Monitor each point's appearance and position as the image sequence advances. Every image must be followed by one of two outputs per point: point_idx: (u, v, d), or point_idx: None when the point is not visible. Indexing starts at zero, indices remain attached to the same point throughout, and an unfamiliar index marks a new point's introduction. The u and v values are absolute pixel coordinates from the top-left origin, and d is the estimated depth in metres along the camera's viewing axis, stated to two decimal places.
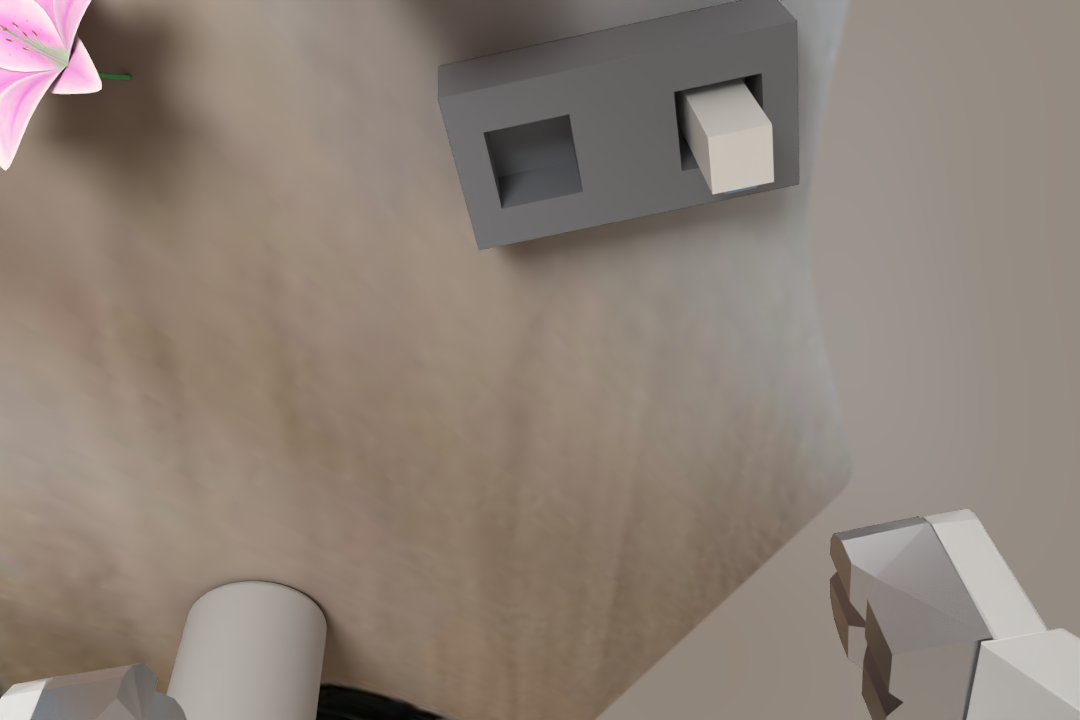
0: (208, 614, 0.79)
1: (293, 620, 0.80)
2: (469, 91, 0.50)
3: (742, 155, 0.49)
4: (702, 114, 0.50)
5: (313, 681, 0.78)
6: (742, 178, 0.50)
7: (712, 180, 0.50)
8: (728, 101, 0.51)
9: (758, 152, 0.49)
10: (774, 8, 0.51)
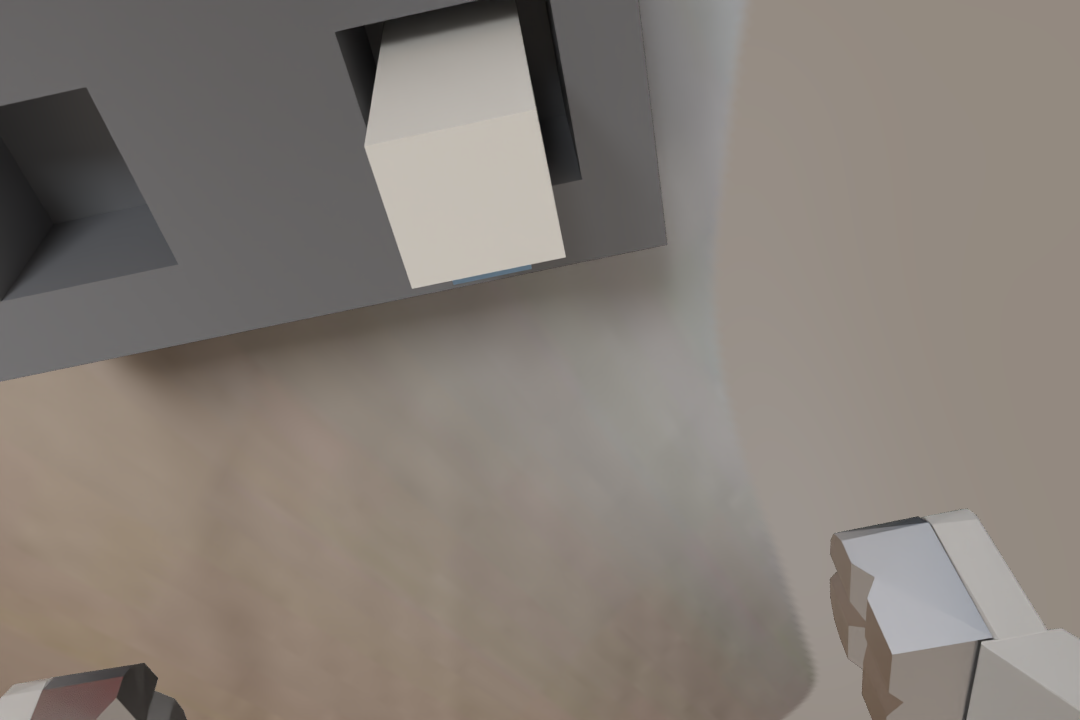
0: None
1: None
2: None
3: (469, 191, 0.18)
4: (388, 86, 0.20)
5: None
6: (482, 249, 0.19)
7: (404, 255, 0.19)
8: (464, 53, 0.21)
9: (513, 185, 0.18)
10: None
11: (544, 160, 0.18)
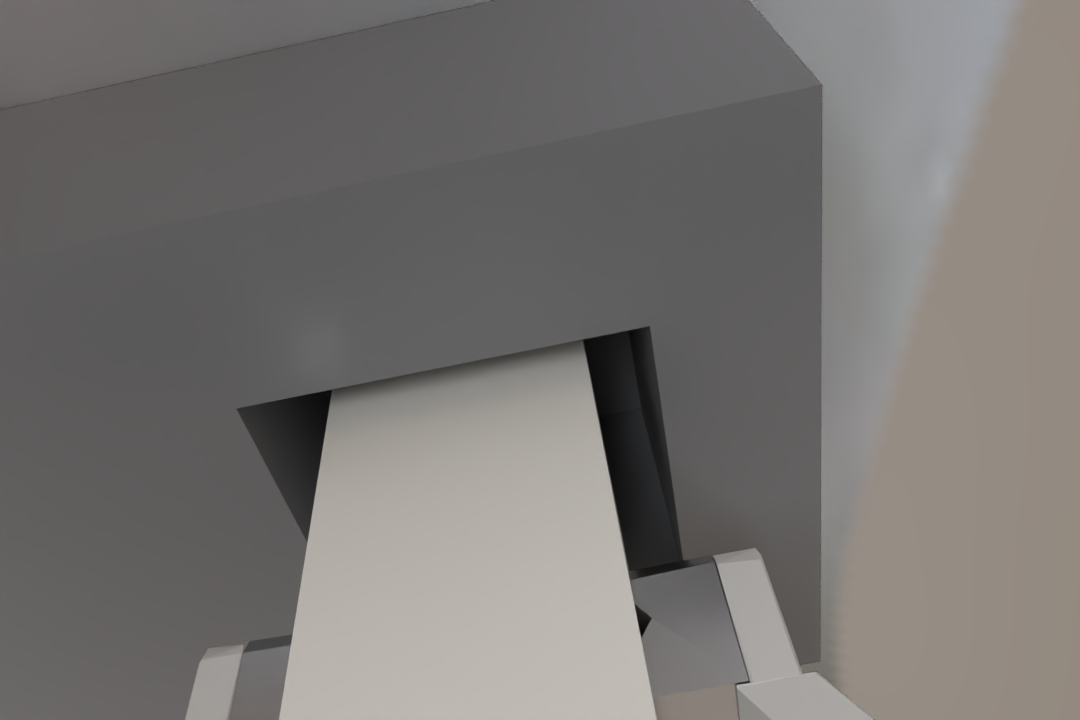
0: None
1: None
2: None
3: None
4: (334, 562, 0.10)
5: None
6: None
7: None
8: (486, 463, 0.10)
9: None
10: (712, 15, 0.11)
11: None
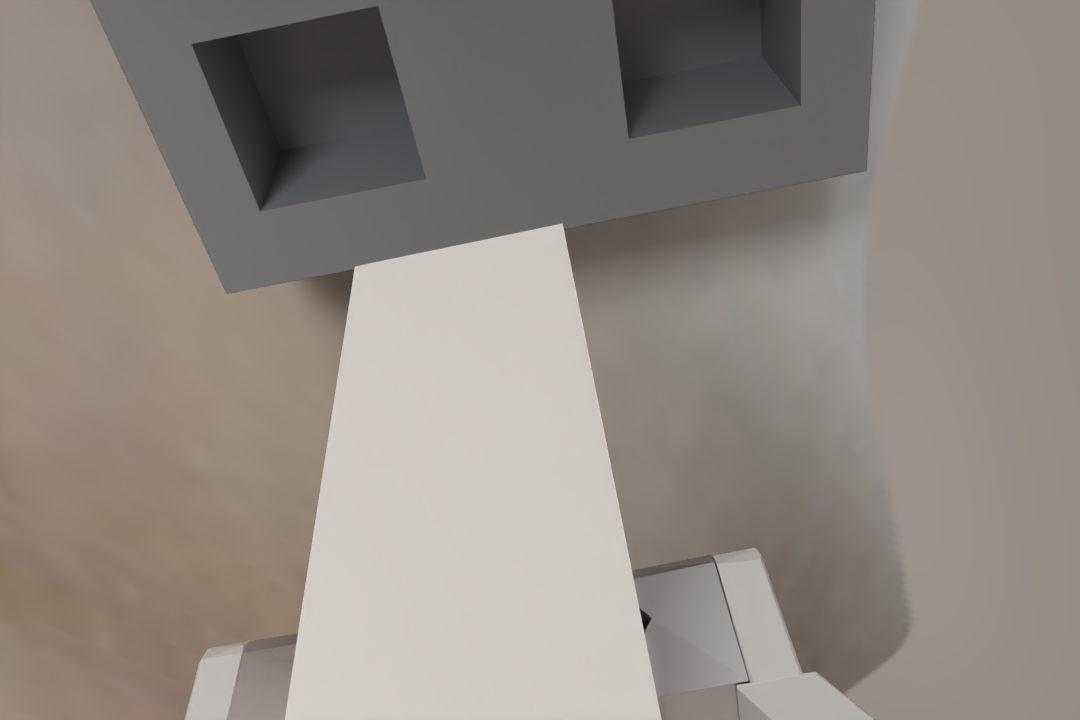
0: None
1: None
2: None
3: None
4: (339, 563, 0.10)
5: None
6: None
7: None
8: (491, 465, 0.10)
9: None
10: None
11: None
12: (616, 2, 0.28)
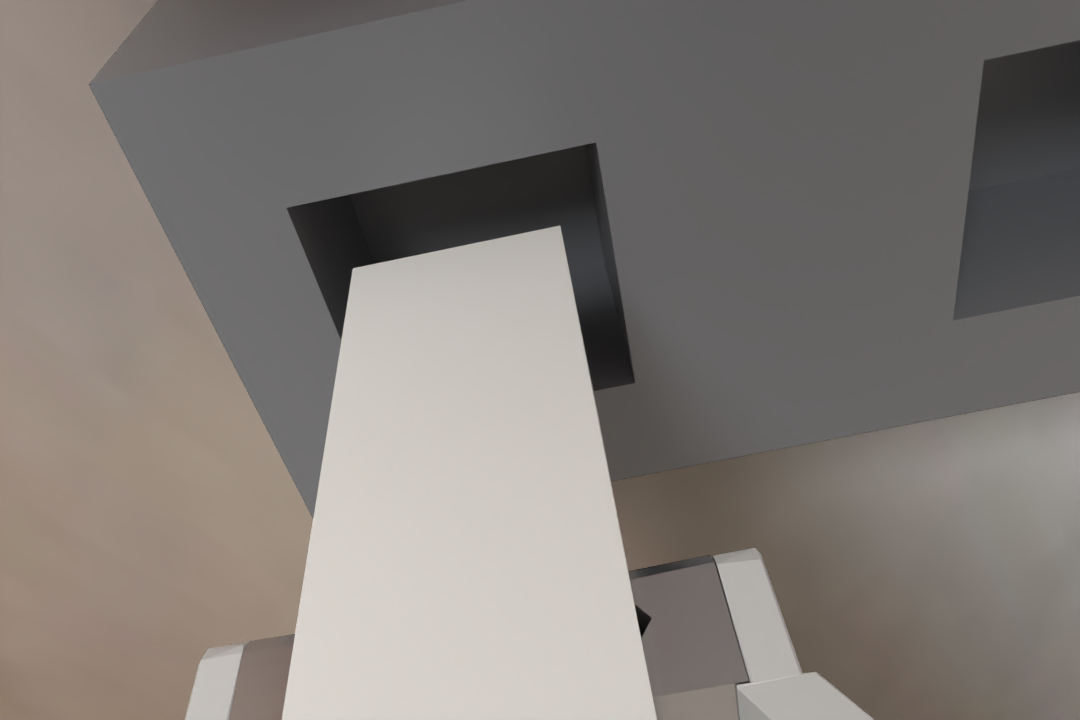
0: None
1: None
2: (209, 56, 0.13)
3: None
4: (335, 566, 0.10)
5: None
6: None
7: None
8: (488, 467, 0.10)
9: None
10: None
11: None
12: None
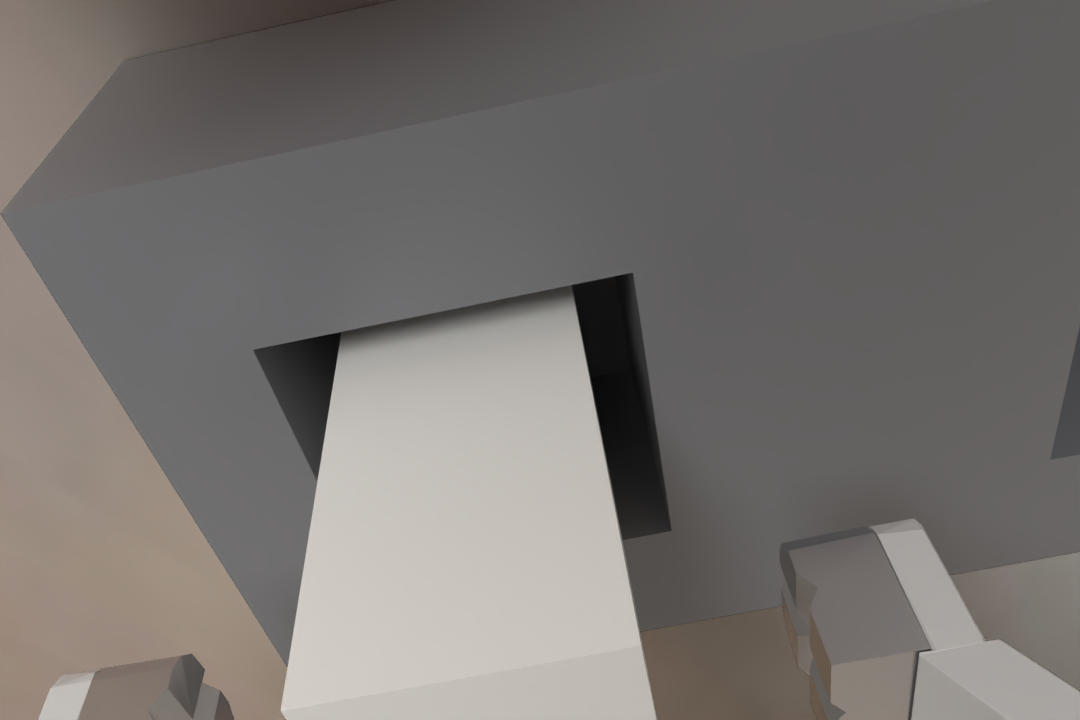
0: None
1: None
2: (152, 179, 0.10)
3: None
4: (344, 485, 0.11)
5: None
6: None
7: None
8: (484, 399, 0.11)
9: None
10: None
11: (651, 711, 0.09)
12: None
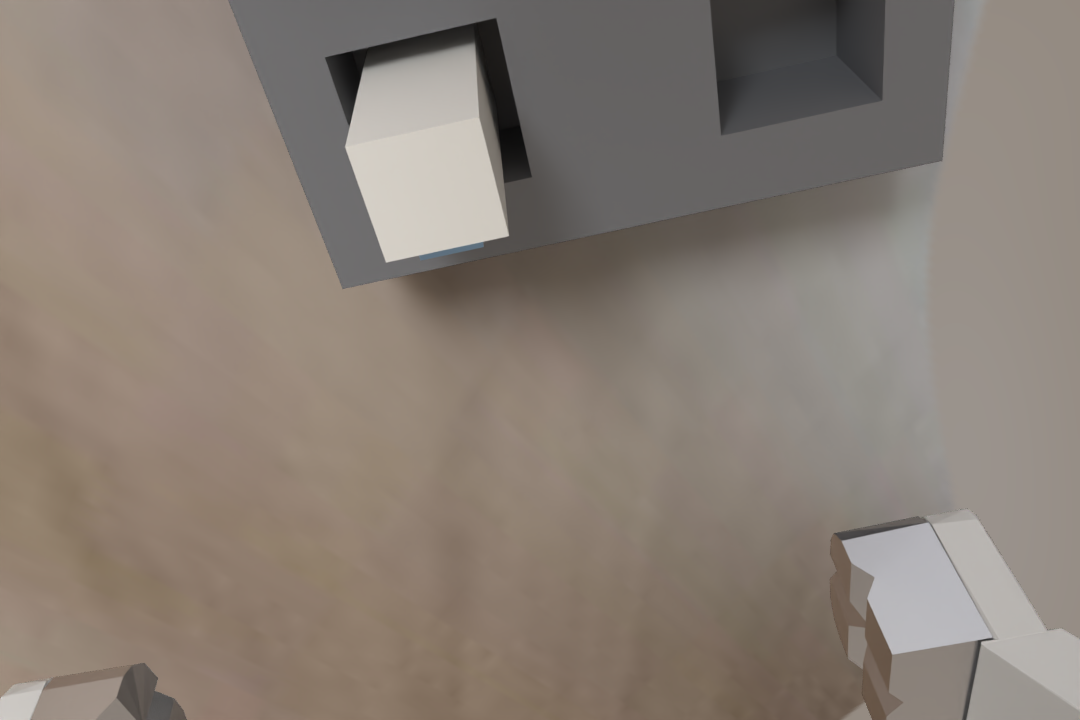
0: None
1: None
2: None
3: (429, 182, 0.23)
4: (367, 101, 0.25)
5: None
6: (441, 230, 0.24)
7: (379, 234, 0.24)
8: (429, 74, 0.25)
9: (464, 177, 0.23)
10: None
11: (487, 157, 0.23)
12: None
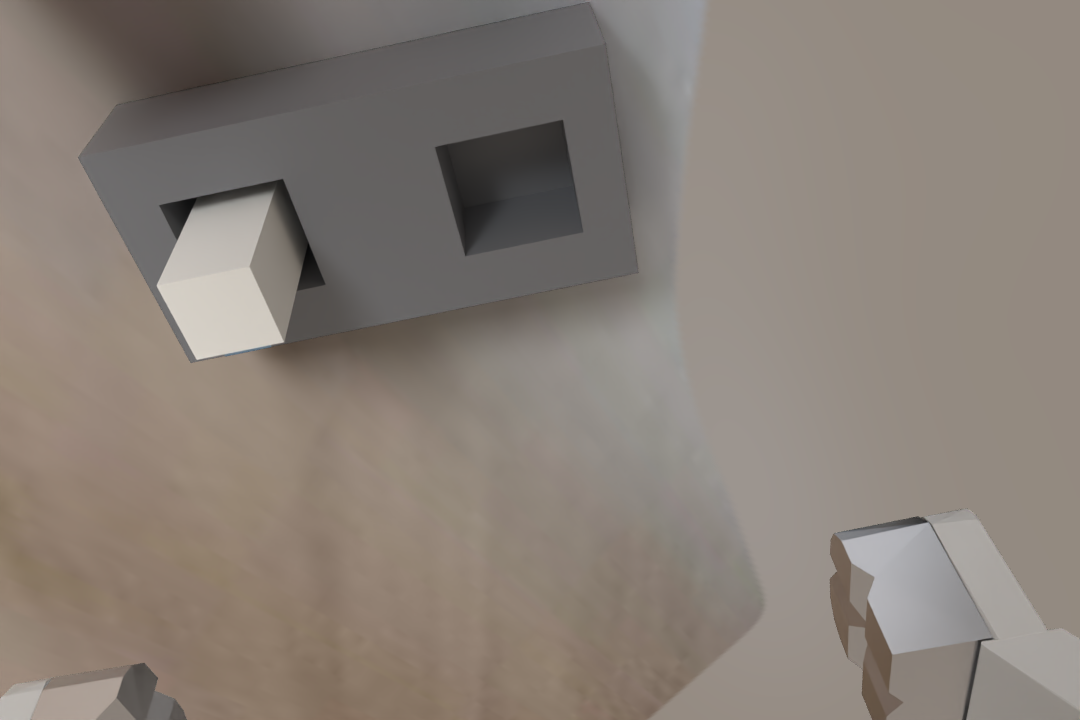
0: None
1: None
2: (124, 146, 0.34)
3: (220, 308, 0.33)
4: (184, 242, 0.34)
5: None
6: (233, 338, 0.34)
7: (189, 341, 0.34)
8: (233, 220, 0.35)
9: (245, 304, 0.33)
10: (583, 24, 0.35)
11: (259, 291, 0.33)
12: (462, 153, 0.40)
